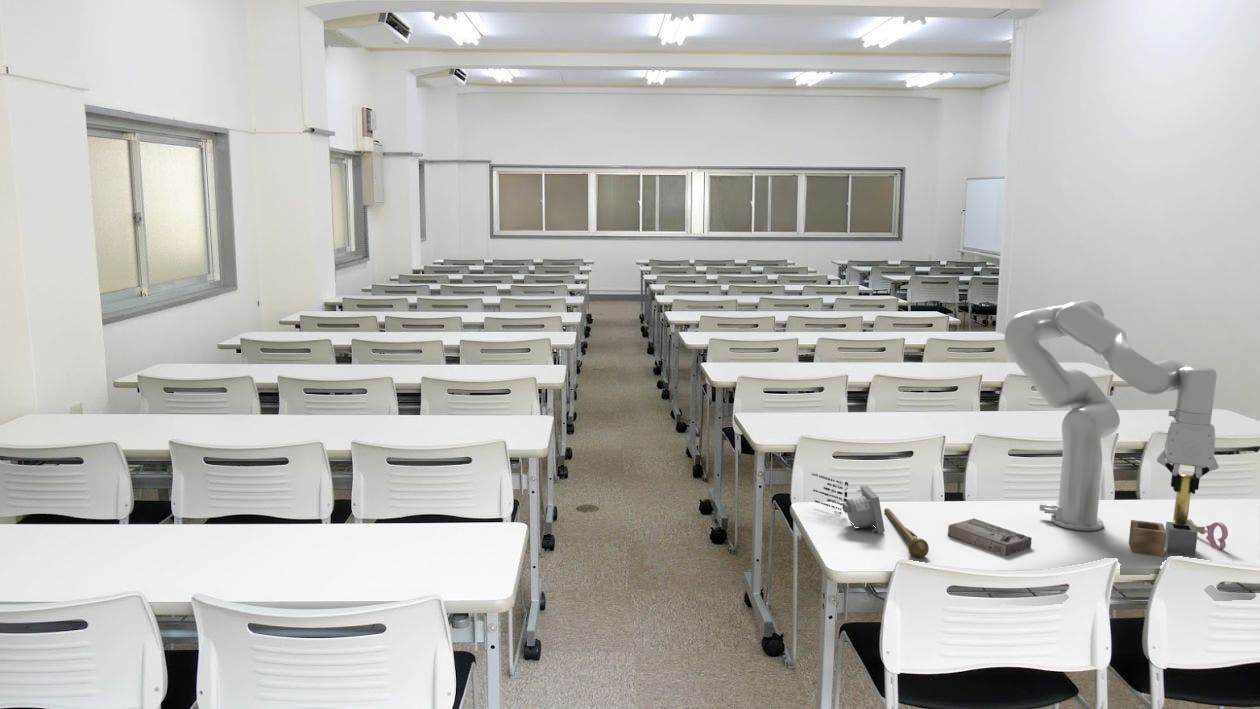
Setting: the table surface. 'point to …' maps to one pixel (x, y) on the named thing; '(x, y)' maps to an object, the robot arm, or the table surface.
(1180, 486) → the brass bar
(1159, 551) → the brown open box
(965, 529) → the box
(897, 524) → the brown rod with knob
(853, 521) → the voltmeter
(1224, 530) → the decorative key
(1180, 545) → the socket block
